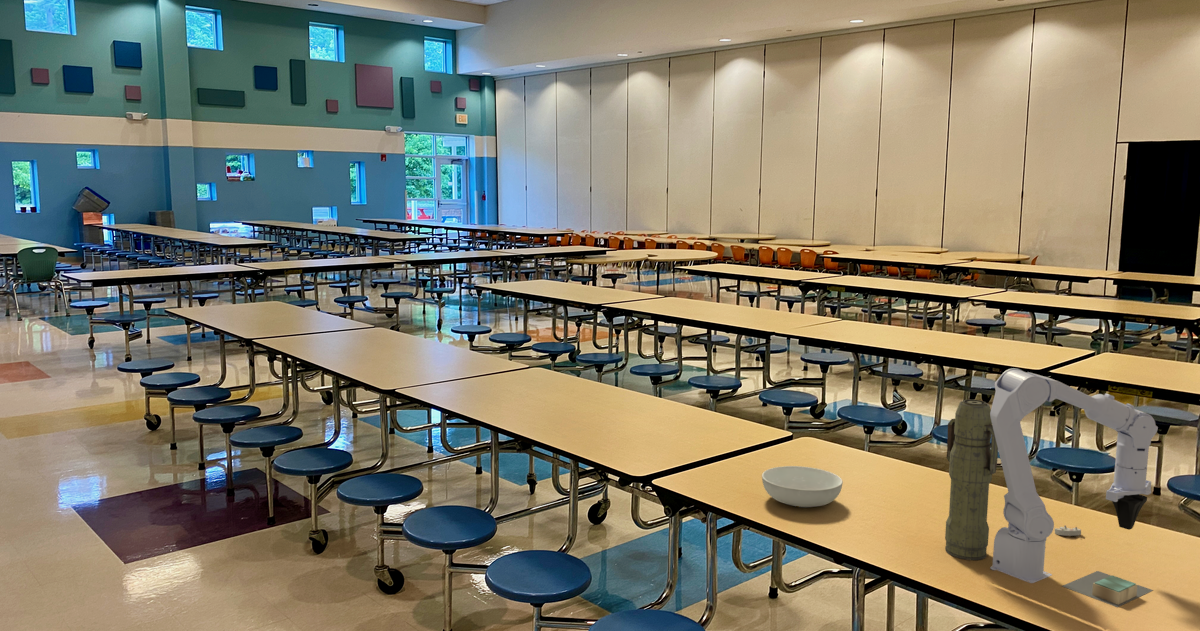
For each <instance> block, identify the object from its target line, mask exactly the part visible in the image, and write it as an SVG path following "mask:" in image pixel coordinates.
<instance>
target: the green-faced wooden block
mask: <svg viewBox="0 0 1200 631" xmlns="http://www.w3.org/2000/svg"><path fill="white" fill-rule="evenodd" d="M1110 575H1111V574H1110ZM1137 585H1138V584H1137V583H1135V582H1132V581H1130V580H1127V579H1124V578H1122V577H1118V576H1116V575H1111V576H1109V577H1107V578H1104V579H1102V580H1100V581H1097V582H1095V583H1093V591H1092V595H1094V596H1097V597H1099V598H1102V599H1105V600H1107V601H1110V602H1113V603H1115V604H1118V605H1119V604H1121V603H1123V602H1125V601H1127V600H1129V599H1131V598H1133V597H1135V596H1136V595H1137Z"/></svg>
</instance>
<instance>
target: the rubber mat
mask: <svg viewBox="0 0 1200 631" xmlns="http://www.w3.org/2000/svg"><path fill="white" fill-rule="evenodd" d="M1109 576H1111V574H1109V573H1105V572H1102V571H1100V570H1096V571H1094V572H1091V573H1090V574H1089V573H1088V574H1087V575H1084V576H1082V577H1079V578H1077V579H1074V580H1073V581H1070V582H1068V583H1065V584H1063V585H1061V588H1062V587H1063V588H1066V589H1069V590H1070V591H1073V592H1076V593H1078V594H1081V595H1084V596H1086V597H1089V598H1091V599H1094V600H1097V601H1100V602H1102V603H1104V604H1107V605H1109V606H1113V607H1115V608H1119V607H1122V606H1124V605H1126V604H1128V603H1130V602H1133V601H1134V600H1136V599H1138V598H1140V597H1142V596H1143V597H1144V595H1146V594H1149V593H1151V592H1153V591H1154V590H1153V589H1151V588H1148V587H1145V586H1143V585H1139V584H1137V595H1136V596H1135V597H1133V598H1131V599H1129V600H1127V601H1125V602H1123V603H1121V604H1119V605H1118V604H1115V603H1113V602H1110V601H1107V600H1105V599H1102V598H1099V597H1097V596H1094V595H1092V591H1093V583H1095V582H1097V581H1100V580H1102V579H1104V578H1107V577H1109Z"/></svg>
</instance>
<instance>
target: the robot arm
mask: <svg viewBox="0 0 1200 631" xmlns="http://www.w3.org/2000/svg"><path fill="white" fill-rule="evenodd" d="M994 389H995V393H994V397H993V400H992V403H991V407H990V409H991V412H990V417H991V422H992V426H993V430H994V434H995V438H996V442H997V447H998V455H999V459H1000V463H1001V466H1002V471H1003V476H1004V479H1005V483H1006V488H1007V493H1006V494H1004V495H1003V499H1004V507H1003V511H1002V512H1003V513H1002V514H1003V517H1004V519H1005V521H1006V522H1007V523H1008V526H1005V527H1004V526H1003V527H1001V528H999V529H998V530H997V532H996V534H995V537H994V541H993V549H992V550H993V553H992V565H991V566H990V568H989V569H990V570H991V571H998V572H1001V573H1004V574H1006V575H1009V576H1011V577H1013V578H1017V579H1019V580H1021V581H1024V582H1027V583H1029V584H1035V583H1036V582H1039V581H1041V580H1043V579H1046V578H1049V577H1052V576H1053V574H1052V573H1049V572H1048V571H1044V569H1045V568H1044V567H1045V558H1046V557H1045V556H1046V555H1045V554H1046V543H1047V542H1046V541H1047V538H1048V537H1050V536H1051V534H1052V533H1053V531H1054V529H1055V521H1054V520H1053V517H1052V516H1051V515H1050V513H1048V511H1047V509H1046V505H1045V503H1044V501H1043V499H1042V498H1041V497H1040V495H1039V494H1038V492H1037V489H1036V484H1035V481H1034V476H1033V471H1032V467H1031V462H1030V459H1029V454H1028V450H1027V447H1026V441H1025V437H1024V433H1023V430H1022V424H1021V421H1022V420H1024V418H1025V417H1026V416H1027V415H1029V414H1031V413H1032V412H1033V411H1034V410H1036V409H1038V408H1039V407H1040V406H1042V405H1043V404H1044V403H1045V402H1049V403H1050V402H1053V401H1054V400H1059V401H1062V402H1065V403H1067V404H1069V405H1072V406H1073V407H1077V408H1079V409H1082V410H1083V411H1084V414H1085V416H1086V418H1087V419H1089V420H1091V421H1094V422H1095V423H1098V424H1101V425H1103V426H1105V427H1107V428H1109V429H1112V430H1114V431H1115V432H1116V433H1117V438H1116V451H1115V464H1114V476H1113V482H1112V484H1111V485H1110V488H1109V489H1107V490H1106V493H1105V500H1106V501H1111V502H1112V505H1113V507H1114V509H1115V513H1116V517H1117V521H1118V522H1117V523H1118V527H1120V528H1122V529H1125V530H1133V528H1134V526H1135V523H1136V520H1137V518H1138V516H1139V513H1140V511H1141V509H1142V508H1143V506H1144V505H1145V503H1146V502H1147V501H1148V497H1147V496H1149V495H1151V494H1152V481H1151V480H1147V474H1148V473H1147V472H1148V461H1149V460H1148V459H1149V448H1150V446H1151V443H1152V439H1153V437H1155V435H1156V434H1157V432H1158V428H1159V427H1158V426H1157V425H1156V420H1155V419H1154V418H1153V416H1152V415H1151V414H1149V413H1147V412H1145V411H1141V410H1138V409H1136V408H1135V405H1133V404H1131V403H1126V404H1125V403H1123V402H1120V401H1118V400H1116V399H1115V396H1114V395H1111V394H1108V393H1104V394H1102V393H1097V394H1094V395H1088V394H1086V393H1084V392H1082V391H1080V390H1078V389H1075V388H1074V387H1072V386H1069V385H1067V384H1065V383H1063V382H1061V381H1059V380H1055V379H1053V378H1050V377H1048V376H1043V375H1040V374H1037V373H1033V372H1031V371H1030V372H1029V371H1027V372H1026V371H1024V370H1022V369H1020V368H1014V367H1013V368H1012V367H1011V368H1008V369H1006V370H1005V371H1004V372H1002V374H1001V375H999V377H998V378H997V380H996V381H995V382H994ZM1146 495H1147V496H1146Z"/></svg>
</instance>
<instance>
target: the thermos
mask: <svg viewBox="0 0 1200 631" xmlns="http://www.w3.org/2000/svg"><path fill="white" fill-rule="evenodd" d="M990 412H991V406H990V404H989V403H987V402H986V401H983V400H978V399H964V400H962V401H960V402H959V403H958V405H957V408H956V411H955V413H954V414H955V415H954V418H951V419H950V420H949V422H948V423H947V438H946V439H947V441H946V442H947V445H946V450H947V451H946V457H945V458H946V460H948V462H949V469H948V475H949V478H950V490H949V491H950V492H949V508H948V517H947V519H946V521H945V531H944V532H945V534H944V540H945V548H944V549H945V552H946V553H947V554H948V555H950V556H952V557H955V558H957V559H961V560H966V561H968V560H969V561H981V560H985V559H986V558H987V551H988V550H987V549H988V548H987V547H988V546H989V534H990V526H989V524H988V510H989V509H988V506H989V493H990V492H989V491H990V490H989V489H990V483H991V481H992V479H993V474H996V472H997V468H998V467H997V466H998V457H999V456H998V455H999V451H998V447H997V442H996V438H995V434H994V430H993V426H992V422H991V417H990Z"/></svg>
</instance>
